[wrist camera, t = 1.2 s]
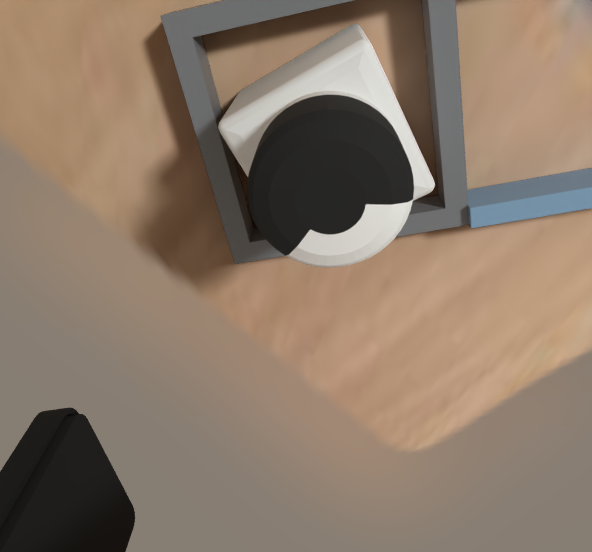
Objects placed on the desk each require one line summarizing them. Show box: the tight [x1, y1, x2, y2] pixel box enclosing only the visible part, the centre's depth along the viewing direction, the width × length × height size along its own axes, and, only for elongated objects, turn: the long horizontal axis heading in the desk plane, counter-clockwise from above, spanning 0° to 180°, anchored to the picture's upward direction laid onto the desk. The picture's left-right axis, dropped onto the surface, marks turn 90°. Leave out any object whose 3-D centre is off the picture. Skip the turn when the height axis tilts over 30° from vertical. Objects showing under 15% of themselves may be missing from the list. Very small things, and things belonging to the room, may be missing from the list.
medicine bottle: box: [218, 24, 435, 267], centre depth 24 cm, size 7×7×12 cm
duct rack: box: [161, 0, 592, 264], centre depth 28 cm, size 13×26×2 cm, turn 102°
